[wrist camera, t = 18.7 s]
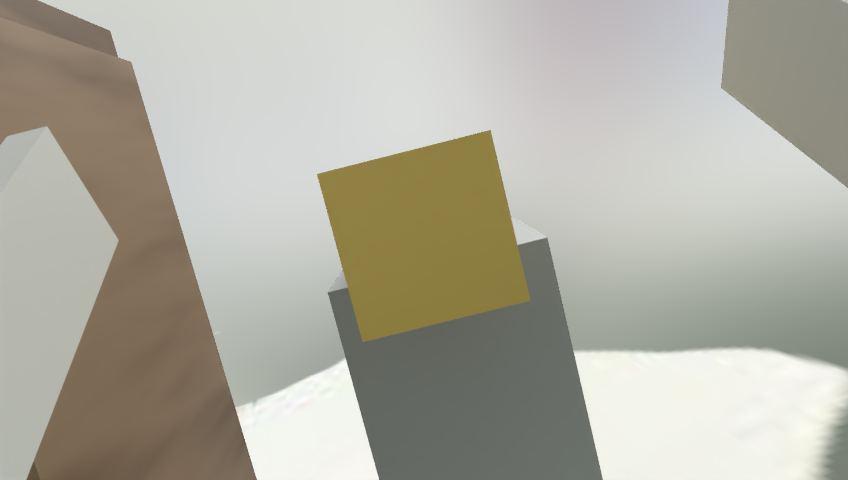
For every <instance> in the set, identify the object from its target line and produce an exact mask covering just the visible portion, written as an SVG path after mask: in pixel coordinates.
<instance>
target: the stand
mask: <svg viewBox="0 0 848 480" xmlns="http://www.w3.org/2000/svg"><path fill="white" fill-rule="evenodd" d="M45 126H47V127H48V128H49V130H50V132H51V133H52V135H53V136H54V138H55V139H56V141H57V143H58V144H59V146H60V147H61V149H62V151H63V152H64V154H65V155H66V157H67V159H68V160H69V162H70V163H71V165H72V167H73V168H74V170H75V171H76V173H77V175H78V176H79V178H80V179H81V181H82V183H83V184H84V186H85V187H86V189H87V190H88V192H89V194H90V195H91V197H92V198H93V200H94V202H95V203H96V205H97V206H98V208H99V210H100V211H101V213H102V214H103V216H104V218H105V219H106V221H107V222H108V224H109V226H110V227H111V229H112V230H113V232H114V233H115V235H116V237H117V238H118V240H119V241H118V244H117V246H116V249H115V251H114V254H113V256H112V259H111V262H110V264H109V267H108V269H107V272H106V275H105V277H104V280H103V282H102V285H101V288H100V290H99V293H98V295H97V298H96V301H95V303H94V306H93V308H92V311H91V313H90V316H89V319H88V321H87V324H86V326H85V329H84V332H83V334H82V337H81V339H80V342H79V345H78V347H77V350H76V352H75V355H74V358H73V360H72V363H71V365H70V368H69V371H68V373H67V376H66V378H65V381H64V383H63V386H62V389H61V391H60V394H59V396H58V399H57V402H56V404H55V407H54V409H53V412H52V415H51V417H50V420H49V422H48V425H47V428H46V430H45V433H44V435H43V438H42V440H41V443H40V446H39V448H38V451H37V453H36V456H35V459H34V461H33V464H32V466H31V469H30V472H29V474H28V477H27V479H26V480H257V479H256V476H255V473H254V469H253V466H252V463H251V459H250V456H249V453H248V449H247V446H246V443H245V439H244V436H243V433H242V429H241V426H240V423H239V419H238V416H237V413H236V409H235V406H234V403H233V399H232V396H231V393H230V390H229V386H228V383H227V379H226V376H225V373H224V370H223V366H222V363H221V360H220V356H219V353H218V350H217V346H216V343H215V339H214V336H213V333H212V329H211V326H210V323H209V320H208V316H207V313H206V310H205V306H204V303H203V300H202V296H201V293H200V290H199V286H198V283H197V280H196V276H195V273H194V270H193V266H192V263H191V260H190V257H189V253H188V250H187V247H186V243H185V240H184V236H183V233H182V230H181V227H180V223H179V220H178V216H177V213H176V210H175V206H174V203H173V200H172V197H171V193H170V190H169V186H168V183H167V180H166V177H165V173H164V170H163V166H162V163H161V160H160V156H159V153H158V150H157V147H156V143H155V140H154V137H153V133H152V130H151V126H150V123H149V120H148V117H147V113H146V110H145V107H144V103H143V100H142V96H141V93H140V90H139V87H138V83H137V80H136V77H135V73H134V70H133V67H132V63H131V62H130V61H127V60H124V59H121V58H118V56H117V52H116V49H115V46H114V42H113V39H112V36H111V32H110V31H109V30H107V29H104V28H102V27H99V26H97V25H95V24H92V23H90V22H88V21H85V20H83V19H80V18H78V17H76V16H73V15H71V14H68V13H66V12H64V11H61V10H59V9H57V8H54V7H52V6H49V5H47V4H45V3H42V2H40V1H37V0H0V145H1V143H2V142H3V141H4V140H5V138H6V137H7V136H10V135H14V134H18V133H22V132H26V131H30V130H34V129H38V128H41V127H45Z"/></svg>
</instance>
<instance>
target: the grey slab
mask: <svg viewBox="0 0 848 480" xmlns="http://www.w3.org/2000/svg"><path fill="white" fill-rule="evenodd" d="M511 220H512V224H513V228H514V233H515V237H516V241H517V245H518V250H519V254H520V258H521V262H522V267H523V271H524V275H525V279H526V284H527V288H528V292H529V296H530V301H527V302H523V303H519V304H515V305H511V306H507V307H503V308H499V309H495V310H491V311H487V312H483V313H479V314H475V315H470V316H466V317H462V318H458V319H454V320H450V321H446V322H442V323H438V324H434V325H430V326H426V327H422V328H418V329H414V330H410V331H406V332H402V333H398V334H394V335H390V336H386V337H382V338H378V339H374V340H370V341H365V342H362V338H361V334H360V331H359V327H358V323H357V319H356V316H355V312H354V308H353V305H352V301H351V297H350V294H349V290H348V286H347V283H346V279H345V275H344V271H343V270H342V272H341V273H340V275H339V276H338V278H337V279H336V281H335V282H334V284H333V285H332V287H331V288H330V290H329V291H328V295H329V298H330V302H331V306H332V309H333V313H334V317H335V320H336V324H337V327H338V331H339V335H340V338H341V342H342V346H343V349H344V353H345V357H346V360H347V364H348V368H349V371H350V375H351V379H352V382H353V386H354V389H355V393H356V397H357V400H358V404H359V408H360V411H361V415H362V419H363V422H364V426H365V429H366V433H367V437H368V440H369V444H370V448H371V451H372V455H373V458H374V462H375V466H376V469H377V473H378V477H379V480H603V479H602V474H601V470H600V466H599V461H598V457H597V453H596V448H595V444H594V439H593V435H592V431H591V426H590V422H589V418H588V413H587V409H586V404H585V400H584V396H583V391H582V387H581V383H580V378H579V374H578V370H577V365H576V361H575V356H574V352H573V348H572V344H571V339H570V335H569V330H568V326H567V322H566V317H565V313H564V309H563V304H562V300H561V295H560V291H559V287H558V282H557V278H556V273H555V269H554V265H553V261H552V256H551V252H550V247H549V243H548V239H547V237H545V236H544V235H542V234H541V233H539V232H537V231H535V230H534V229H532V228H530V227H529V226H527V225H525V224H524V223H522V222H520V221H518V220H517V219H515V218H513V217H512V216H511Z"/></svg>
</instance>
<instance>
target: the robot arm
mask: <svg viewBox="0 0 848 480" xmlns="http://www.w3.org/2000/svg"><path fill="white" fill-rule="evenodd" d="M721 88H722V89H723V90H725V91H726V92H727V93H729V94H730V95H731V96H732V97H734V98H735V99H736V100H737V101H739V102H740V103H741V104H742V105H744V106H745V107H746V108H747V109H749V110H750V111H751V112H753V113H754V114H755V115H756V116H758V117H759V118H760V119H761V120H763V121H764V122H765V123H766V124H768V125H769V126H770V127H772V128H773V129H774V130H775V131H777V132H778V133H779V134H780V135H782V136H783V137H784V138H785V139H787V140H788V141H789V142H790V143H792V144H793V145H794V146H796V147H797V148H798V149H799V150H801V151H802V152H803V153H804V154H806V155H807V156H808V157H810V158H811V159H812V160H814V161H815V162H816V163H817V164H818V165H820V166H821V167H822V168H824V169H825V170H826V171H827V172H828V173H830V174H831V175H832V176H834V177H835V178H836V179H837V180H839V181H840V182H841V183H842V184H844V185H845V186H846V187H848V0H729V6H728V17H727V28H726V39H725V50H724V62H723V73H722V84H721ZM118 241H119V240H118V238H117V237H116V235H115V233H114V232H113V230H112V229H111V227H110V226H109V224H108V222H107V221H106V219H105V218H104V216H103V214H102V213H101V211H100V210H99V208H98V206H97V205H96V203H95V202H94V200H93V198H92V197H91V195H90V194H89V192H88V190H87V189H86V187H85V186H84V184H83V183H82V181H81V179H80V178H79V176H78V175H77V173H76V171H75V170H74V168H73V167H72V165H71V163H70V162H69V160H68V159H67V157H66V155H65V154H64V152H63V151H62V149H61V147H60V146H59V144H58V143H57V141H56V139H55V138H54V136H53V135H52V133H51V132H50V130H49V128H48V127H47V126H45V127H41V128H38V129H34V130H30V131H26V132H22V133H18V134H14V135H10V136H7V137H6V138H5V140H4V141H3V142H2V143H1V145H0V480H26V479H27V477H28V474H29V472H30V469H31V466H32V464H33V461H34V459H35V456H36V453H37V451H38V448H39V446H40V443H41V440H42V438H43V435H44V433H45V430H46V428H47V425H48V422H49V420H50V417H51V415H52V412H53V409H54V407H55V404H56V402H57V399H58V396H59V394H60V391H61V389H62V386H63V383H64V381H65V378H66V376H67V373H68V371H69V368H70V365H71V363H72V360H73V358H74V355H75V352H76V350H77V347H78V345H79V342H80V339H81V337H82V334H83V332H84V329H85V326H86V324H87V321H88V319H89V316H90V313H91V311H92V308H93V306H94V303H95V301H96V298H97V295H98V293H99V290H100V288H101V285H102V282H103V280H104V277H105V275H106V272H107V269H108V267H109V264H110V262H111V259H112V256H113V254H114V251H115V249H116V246H117V244H118Z"/></svg>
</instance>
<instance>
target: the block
mask: <svg viewBox="0 0 848 480" xmlns="http://www.w3.org/2000/svg"><path fill="white" fill-rule="evenodd" d="M317 175H318V179H319V183H320V187H321V190H322V194H323V198H324V201H325V205H326V209H327V212H328V216H329V220H330V223H331V227H332V230H333V235H334V238H335V242H336V245H337V249H338V252H339V256H340V260H341V264H342V268H343V271H344V275H345V279H346V283H347V286H348V290H349V294H350V297H351V301H352V305H353V308H354V312H355V316H356V319H357V323H358V327H359V331H360V334H361V338H362V342H365V341H370V340H374V339H378V338H382V337H386V336H390V335H394V334H398V333H402V332H406V331H410V330H414V329H418V328H422V327H426V326H430V325H434V324H438V323H442V322H446V321H450V320H454V319H458V318H462V317H466V316H470V315H475V314H479V313H483V312H487V311H491V310H495V309H499V308H503V307H507V306H511V305H515V304H519V303H523V302H527V301H530V296H529V292H528V288H527V284H526V279H525V275H524V271H523V267H522V262H521V258H520V254H519V250H518V245H517V241H516V237H515V233H514V228H513V224H512V220H511V216H510V211H509V207H508V203H507V199H506V195H505V190H504V186H503V181H502V177H501V173H500V169H499V165H498V160H497V156H496V152H495V148H494V144H493V139H492V135H491V131H490V130H489V131H485V132H481V133H477V134H473V135H470V136H465V137H462V138H458V139H454V140H450V141H446V142H442V143H438V144H434V145H430V146H426V147H422V148H418V149H414V150H410V151H406V152H402V153H399V154H395V155H391V156H387V157H383V158H379V159H375V160H371V161H367V162H363V163H359V164H355V165H351V166H347V167H344V168H339V169H335V170H332V171H328V172H324V173H320V174H317Z"/></svg>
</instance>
